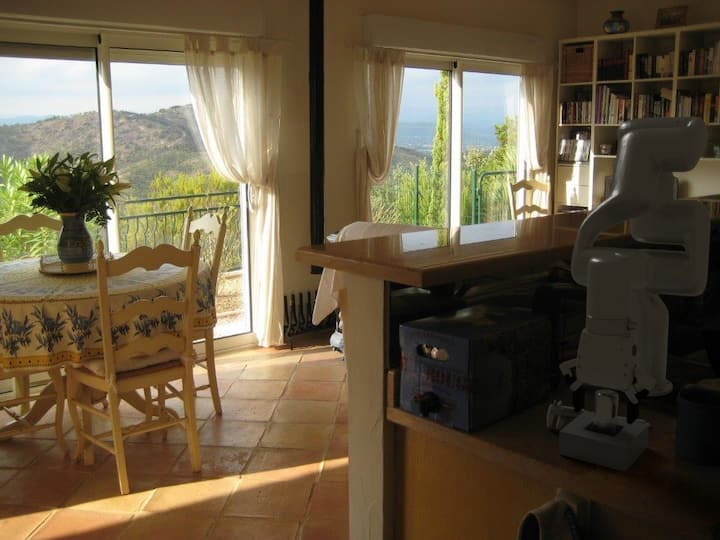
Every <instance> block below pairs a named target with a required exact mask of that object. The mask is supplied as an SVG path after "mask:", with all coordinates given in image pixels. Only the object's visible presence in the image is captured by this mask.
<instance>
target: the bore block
mask: <svg viewBox="0 0 720 540" xmlns="http://www.w3.org/2000/svg"><path fill="white" fill-rule="evenodd" d="M584 410H585V409H584ZM593 419H594V411H589V410H585V411H584V412H583V413H581V414H580V415H579V416H578V417H576V418H575V419H574V420H573V421H571V420H570V422H569V423H567V424H566V425H565V426H564V427H563V428H561V429H560V430H558V431H559V433H558V434H559V436H558V437H559V438H558V439H559V440H558V455H561V456H565V457H568V458H570V459H571V458H572V459H576V460H579V461H583V462H587V463H591V464H594V465H597V466H600V467H601V466H602V467H606V468H609V469H613V470H616V471H619V472H620V471H621V472H624V473H625V472H627V470H629V468H630V467H631V466H632V465H633V464H634V463H635V462H636V461H637V460H638V459H639V458H640V456H641V455H642V454H643V453H644V452H645V451H646V450H647V449H648V447H649V428H650V427H649V424H650V423H649V424H644V423H640V422H635V421H634V422H633V423H632V424H631V425H630V424H628V423H627V420H626V419H622V418H617V424H616V435H615V436H609V435H605V434H601V433H597V432H593Z"/></svg>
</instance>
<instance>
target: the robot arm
mask: <svg viewBox="0 0 720 540" xmlns="http://www.w3.org/2000/svg"><path fill="white" fill-rule="evenodd" d="M616 136H617V144H618V145H617V150H616V156H615V161H614V166H613V173H612V177H611V182H610V187H609V193H608V195H607V196H608V197H607V198H606V199H604V200H603V201H601V203H599V204H598V205H596V207H594V208H593V210H591V212H589V213H588V214H587V215H586V217H585V218H584V220H583V221H582V223H581V224H580V225H579V228H578V230H577V233H576V237H575V241H574V246H573V250H572V255H571V263H570V273H571V277H572V278H573V280H574V282H575V283H577V284H578V285H581V286H583V287H586V314H585V327H584V328H583V329H582V331H581V333H580V334H581V335H580V338H579V344H578V349H577V355H576V358H572V359H570V360H567V361H563V362H562V363H560V364H559V366H558V367H559V369H560V372H561V374H562V375H563V380H565V382H566V384H567V385H569V389H570V391H572V397H571V399H572V402H571V403H572V406H573V407H574V412H579V411H581V410H582V409H584V408H585V400H586V399H585V396H586V393H585V392H586V390H585V387H583V385H590V386H594V387H599V388H604V389H607V390H612V391H620V392H622V393H625V395H626V397H627V398H628V400H629V402H627V405H626V406H627V409H626V410H627V411H626V417H627V423H628V424H630V425H631V424H632V423H633V422H634V421H635V420H636V419H639V417H640V410H641V409H640V406H641V401H642V400H643V399H645V398H646V397H662V396H667V395H668V394H671V393H672V392H673V391H674V390H673V387H674V385H673V383H672V382H671V381H669V380H668V379H666V375H667V374H666V373H667V360H668V357H667V356H668V343H669V342H668V341H669V339H668V338H669V322H670V321H669V320H670V315H669V310H668V308H667V306H666V304H665V303H664V301H663V300H662V299H661V297H660V296H659V295H670V296H671V295H672V296H681V297H682V296H683V297H696V296H701V294H702V293H704V291H705V290H706V286H707V282H708V273H709V271H708V270H709V259H710V258H709V257H710V242H711V241H710V239H711V214H710V210H709V208H708V206H707V205H706V204H705V203H704V202H702V201H698V200H697V201H696V200H689V199H686V200H684V199H681V200H680V199H675V198H674V190H675V189H674V187H675V176H674V173H687V172H690V171H693V170H694V169H695V168H696V167H697V165H698V163H699V162H700V160H701V159H702V156H703V154H704V153H705V151H706V148H707V143H708V139H709V132H708V126H707V124H706V122H705V120H704V119H703V118H701V117H699V116H667V117H665V116H664V117H663V116H660V117H658V116H657V117H656V116H654V117H640V118H632V119H629V120H625V121H623V122H622V123H621V124H620V125H619V126H618V128H617V135H616ZM627 221H629V230H630V235H631V237H632V239H634V240H635V241H637V242H639V243H644V244H645V243H646V244H647V243H648V244H660V245H675V246H676V245H679V246H682V247H684V250H685V251H683V250H682V251H681V250H666V249H651V248H650V249H649V248H639V249H636V248H623V247H622V248H620V247H607V246H594V243H595V241H596V239H597V238H598V237H599V236H600V235H601V234H602V233H604V231H606V230H608V229H609V228H612V227H614V226H616V225H618V224H621V223H624V222H627ZM573 367H575V375H574V373H572V372H571V371H572V370H571V369H572V368H573Z"/></svg>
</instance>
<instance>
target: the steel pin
mask: <svg viewBox="0 0 720 540" xmlns="http://www.w3.org/2000/svg"><path fill="white" fill-rule="evenodd" d="M594 394H595V395H594V396H595V397H594V407H593V408H594V409H593V412H594V419H593V432H597V433H601V434H605V435H609V436H615V435H616V424H617V416H618V408H619V398H620V397H619V396H620V395H619V393H618V392H616V391H615V390H612V389H598V390H595V392H594Z"/></svg>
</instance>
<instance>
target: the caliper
mask: <svg viewBox="0 0 720 540" xmlns="http://www.w3.org/2000/svg"><path fill="white" fill-rule="evenodd" d="M562 404H563V402H562V400H559V401H558V402H557V400H556V399H553V403H552V404H549V407H548V411H547V413H546V427H547V429H548V430H550V431H551V429H552V426H553V423H554V418H555V416H557V421H556V423H555V428H556V430H557V431H560V430H561V429H562V427H563V425H564V423H565V422H566V420H570V422H571V421H573V420H574V419H575V418H576V417H578V416H579V415H580V414H581V413H583V412H584V411H585V409H584V408H583V409H582V410H581V411H579V412H574V406H567V405H562ZM617 418H622V419H626V420H627V416H620V415H619V416H618V415H617ZM635 422H640V423H644V424H649V428H653V427H652V425H651V424H650V423H649V422H646V420H644V419H639V418H638V419H636V420H635Z"/></svg>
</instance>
